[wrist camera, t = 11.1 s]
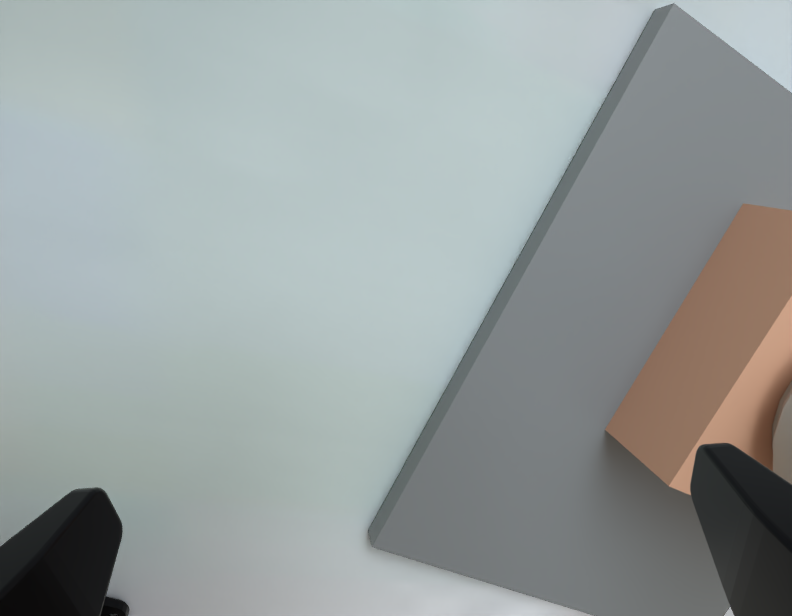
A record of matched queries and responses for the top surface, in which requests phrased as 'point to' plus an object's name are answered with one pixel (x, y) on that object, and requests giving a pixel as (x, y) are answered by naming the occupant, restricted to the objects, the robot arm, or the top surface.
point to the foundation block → (718, 355)
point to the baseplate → (597, 346)
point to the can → (783, 437)
